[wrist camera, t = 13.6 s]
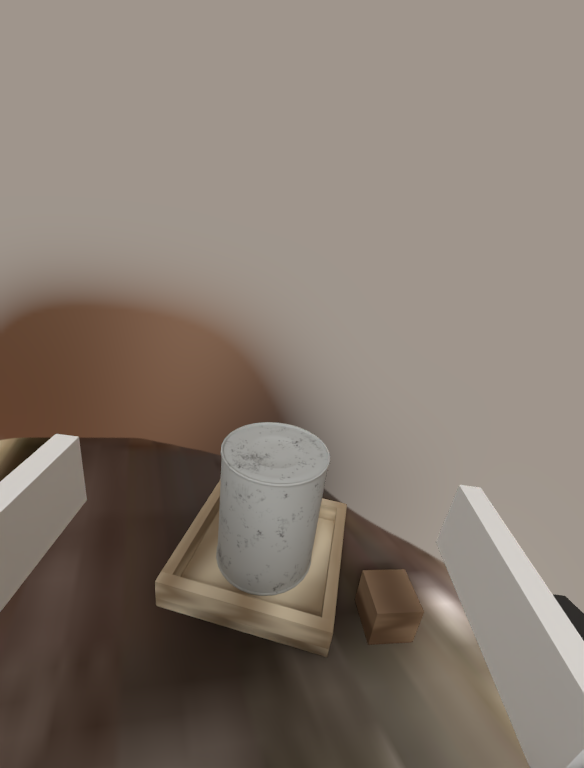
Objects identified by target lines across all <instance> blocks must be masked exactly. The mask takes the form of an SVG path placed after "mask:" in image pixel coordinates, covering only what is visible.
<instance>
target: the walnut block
mask: <svg viewBox="0 0 584 768" xmlns="http://www.w3.org/2000/svg"><path fill="white" fill-rule="evenodd" d="M355 602H356V606H357V609H358V612H359V616H360V619H361V623H362V626H363V630H364V633H365V636H366V640H367V643H368V645H372V644H390V643H408V642H413V640H414V637H415V634H416V632H417V629H418V627H419V624H420V621H421V619H422V616H423V614H424V610H423V608H422V606H421V604H420V602H419V599H418V597H417V595H416V593H415V591H414V589H413V586H412V584H411V582H410V580H409V578H408V576H407V573H406V571H405V569H390V570H363V571H362V575H361V578H360V582H359V586H358V590H357V593H356V597H355Z"/></svg>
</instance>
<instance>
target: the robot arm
mask: <svg viewBox="0 0 584 768" xmlns="http://www.w3.org/2000/svg"><path fill="white" fill-rule="evenodd" d="M86 500H87V497H86V489H85V481H84V473H83V465H82V457H81V449H80V441H79V437H77V436H69V435H61V434H55V435H54V436H53V437H52V438H50V439H49V440H48V441H47V442H46V443H45V444H44V445H42V446H41V447H40V448H39V449H38V450H37V451H35V452H34V453H33V454H32V455H31V456H30V457H28V458H27V459H26V460H25V461H24V462H23V463H21V464H20V465H19V466H18V467H17V468H16V469H15V470H13V471H12V472H11V473H10V474H9V475H8V476H6V477H5V478H4V479H3V480H2V481H1V482H0V612H1V610H2V609H3V608H4V607H5V605H6V604H7V603H8V601H9V600H10V599H11V597H12V596H13V595H14V594H15V592H16V591H17V590H18V588H19V587H20V586H21V585H22V583H23V582H24V581H25V579H26V578H27V577H28V575H29V574H30V573H31V572H32V570H33V569H34V568H35V566H36V565H37V564H38V563H39V561H40V560H41V559H42V557H43V556H44V555H45V553H46V552H47V551H48V550H49V548H50V547H51V546H52V544H53V543H54V542H55V541H56V539H57V538H58V537H59V535H60V534H61V533H62V531H63V530H64V529H65V528H66V526H67V525H68V524H69V522H70V521H71V520H72V519H73V517H74V516H75V515H76V513H77V512H78V511H79V509H80V508H81V507H82V506H83V504H84V503H85V502H86ZM436 543H437V546H438V549H439V551H440V553H441V555H442V558H443V561H444V563H445V565H446V568H447V570H448V573H449V575H450V577H451V580H452V582H453V585H454V587H455V589H456V592H457V594H458V597H459V599H460V601H461V604H462V606H463V609H464V611H465V613H466V616H467V618H468V620H469V623H470V625H471V628H472V630H473V632H474V635H475V637H476V640H477V642H478V644H479V647H480V649H481V652H482V654H483V656H484V659H485V661H486V664H487V666H488V668H489V671H490V673H491V676H492V678H493V680H494V683H495V685H496V687H497V690H498V692H499V695H500V697H501V699H502V702H503V704H504V707H505V709H506V711H507V714H508V716H509V719H510V721H511V723H512V726H513V728H514V731H515V733H516V735H517V738H518V740H519V743H520V745H521V747H522V750H523V752H524V755H525V757H526V759H527V762H528V764H529V766H530V768H584V613H582V612H581V611H580V610H579V609H578V608H577V607H576V606H575V605H574V604H573V603H572V602H571V601H570V600H569V599H568V598H566V597H565V596H561V595H553V594H552V593H551V592H550V590H549V589H548V587H547V586H546V584H545V583H544V581H543V580H542V578H541V577H540V575H539V574H538V572H537V571H536V569H535V568H534V566H533V565H532V563H531V562H530V560H529V559H528V557H527V556H526V554H525V553H524V551H523V550H522V548H521V547H520V546H519V544H518V542H517V541H516V539H515V538H514V537H513V535H512V533H511V532H510V531H509V529H508V528H507V526H506V525H505V523H504V522H503V520H502V519H501V517H500V516H499V514H498V513H497V511H496V510H495V508H494V507H493V505H492V504H491V503H490V501H489V499H488V498H487V496H486V495H485V493H484V492H483V490H482V489H481V488H480V487H472V486H464V485H459V487H458V489H457V491H456V494H455V496H454V499H453V501H452V504H451V506H450V509H449V511H448V514H447V516H446V519H445V521H444V523H443V526H442V528H441V531H440V533H439V536H438V538H437V541H436Z"/></svg>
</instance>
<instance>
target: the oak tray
mask: <svg viewBox="0 0 584 768" xmlns="http://www.w3.org/2000/svg"><path fill="white" fill-rule="evenodd" d="M220 485H221V479H220V481H219V482H218V484H217V486H216V487H215V489H214V490H213V492H212V493H211V495H210V496H209V498H208V500H207V501H206V503H205V504H204V506H203V507H202V509H201V510H200V512H199V514H198V515H197V517H196V518H195V520H194V521H193V523H192V524H191V526H190V528H189V529H188V531H187V532H186V534H185V535H184V537H183V538H182V540H181V542H180V543H179V545H178V546H177V548H176V549H175V551H174V553H173V554H172V556H171V557H170V559H169V560H168V562H167V563H166V565H165V567H164V568H163V570H162V571H161V573H160V574H159V576H158V577H157V579H156V581H155V594H156V606H159V607H162V608H165V609H169V610H172V611H175V612H179V613H182V614H185V615H188V616H192V617H195V618H198V619H202V620H205V621H208V622H212V623H215V624H218V625H222V626H225V627H228V628H232V629H235V630H238V631H242V632H245V633H248V634H251V635H255V636H258V637H261V638H265V639H268V640H271V641H275V642H278V643H281V644H285V645H288V646H291V647H295V648H298V649H301V650H305V651H308V652H311V653H314V654H318V655H321V656H324V657H327V655H328V651H329V647H330V643H331V639H332V635H333V628H334V619H335V610H336V600H337V591H338V581H339V572H340V562H341V553H342V544H343V534H344V525H345V515H346V506H347V504H344V503H340V502H336V501H331V500H327V499H323V498H322V501H321V507H320V512H319V518H318V523H317V528H316V534H315V539H314V544H313V550H312V555H311V565H310V568H309V571H308V573H307V574H306V576H305V577H304V579H303V580H302V581H301V582H300V583H299V584H298V585H297V586H296V587H294V588H292V589H291V590H289V591H287V592H285V593H281V594H277V595H272V596H259V595H253V594H249V593H246V592H244V591H241V590H239V589H237V588H236V587H234V586H233V585H231V584H230V583H229V582H228V581H227V580H226V579H225V577H224V576H223V575H222V573H221V571H220V569H219V567H218V564H217V559H216V552H217V545H218V528H219V507H220Z"/></svg>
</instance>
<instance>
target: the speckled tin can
mask: <svg viewBox="0 0 584 768" xmlns="http://www.w3.org/2000/svg"><path fill="white" fill-rule="evenodd" d="M221 456H222V464H221V485H220V507H219V528H218V545H217V552H216V559H217V564H218V567H219V569H220V571H221V573H222V575H223V576H224V577H225V579H226V580H227V581H228V582H229V583H230V584H231V585H233V586H234V587H236V588H237V589H239V590H241V591H244V592H246V593H249V594H253V595H259V596H272V595H277V594H281V593H285V592H287V591H289V590H291V589H292V588H294V587H296V586H297V585H298V584H299V583H300V582H301V581H302V580H303V579H304V577H305V576H306V574H307V573H308V571H309V568H310V565H311V555H312V550H313V544H314V539H315V534H316V528H317V523H318V518H319V512H320V507H321V501H322V496H323V491H324V484H325V480H326V474H327V469H328V466H329V464H330V453H329V451H328V448H327V446H326V445H325V444H324V442H323V441H322V440H321V439H319V438H318V437H317V436H316V435H314V434H312V433H310V432H309V431H307V430H305V429H302V428H300V427H297V426H293V425H289V424H283V423H274V422H264V423H254V424H249V425H245V426H243V427H240V428H238V429H236V430H234V431H233V432H231V433H230V434H229V435H228V436H227V437H226V438H225V439H224V441H223V443H222V445H221Z"/></svg>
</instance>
